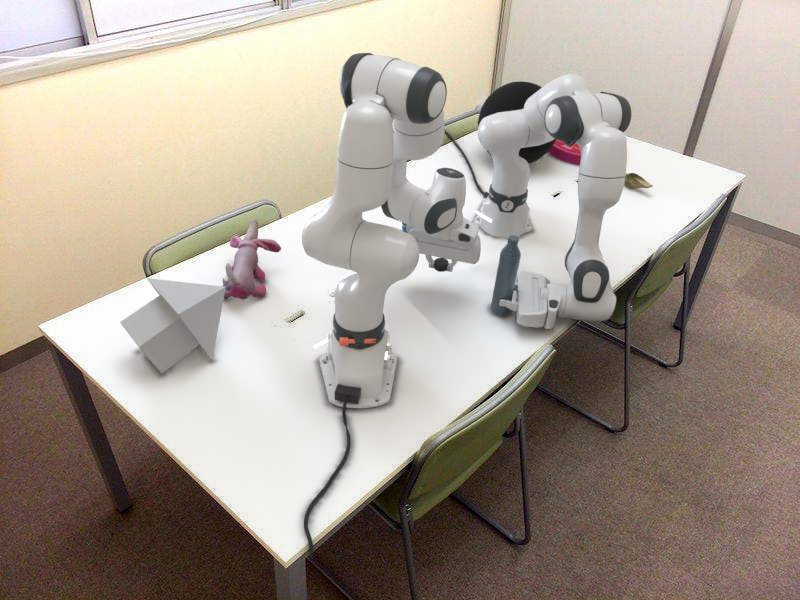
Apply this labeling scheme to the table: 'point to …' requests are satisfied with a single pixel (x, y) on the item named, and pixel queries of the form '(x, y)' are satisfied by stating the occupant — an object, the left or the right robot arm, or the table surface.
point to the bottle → (506, 275)
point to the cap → (440, 264)
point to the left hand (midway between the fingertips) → (440, 268)
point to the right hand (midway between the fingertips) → (499, 294)
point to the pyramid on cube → (176, 321)
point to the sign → (566, 152)
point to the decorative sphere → (511, 100)
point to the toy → (247, 265)
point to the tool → (636, 181)
